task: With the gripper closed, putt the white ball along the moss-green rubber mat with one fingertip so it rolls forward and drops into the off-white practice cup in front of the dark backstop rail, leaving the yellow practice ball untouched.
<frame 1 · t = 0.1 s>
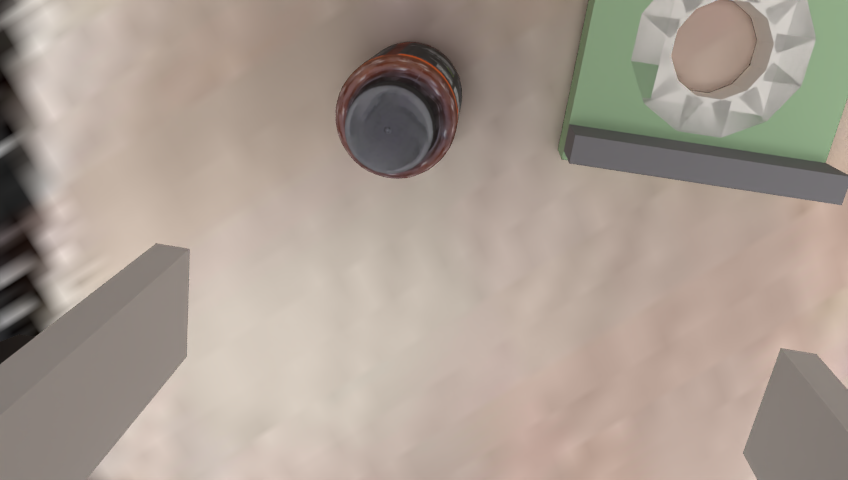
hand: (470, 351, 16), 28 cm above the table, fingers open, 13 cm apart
supplement bottle: (413, 92, 42), on the table
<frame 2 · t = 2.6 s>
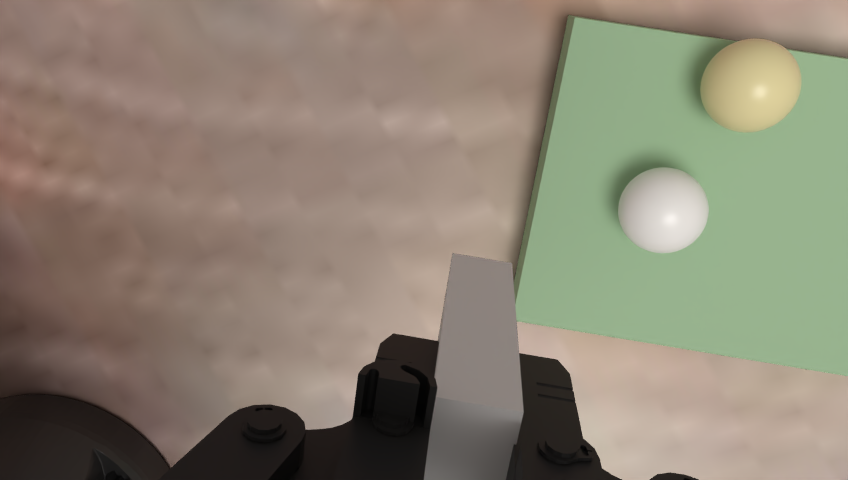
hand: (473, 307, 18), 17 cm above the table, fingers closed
yellow ball: (749, 86, 28), point 4 cm above the table, touching green
green: (809, 210, 34), on the table
ball: (662, 210, 30), point 4 cm above the table, touching green
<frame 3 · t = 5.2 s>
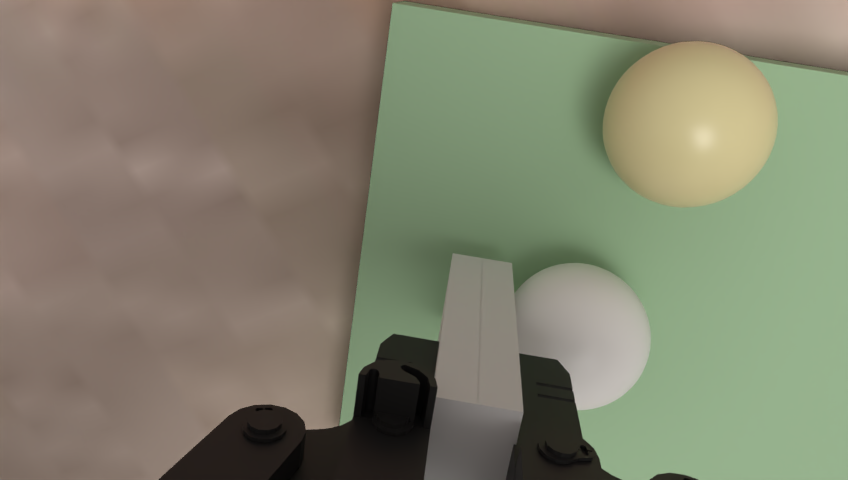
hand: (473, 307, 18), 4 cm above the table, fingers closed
yellow ball: (686, 125, 16), point 4 cm above the table, touching green
green: (796, 311, 21), on the table
ball: (574, 335, 18), point 4 cm above the table, tilted 20°, touching green
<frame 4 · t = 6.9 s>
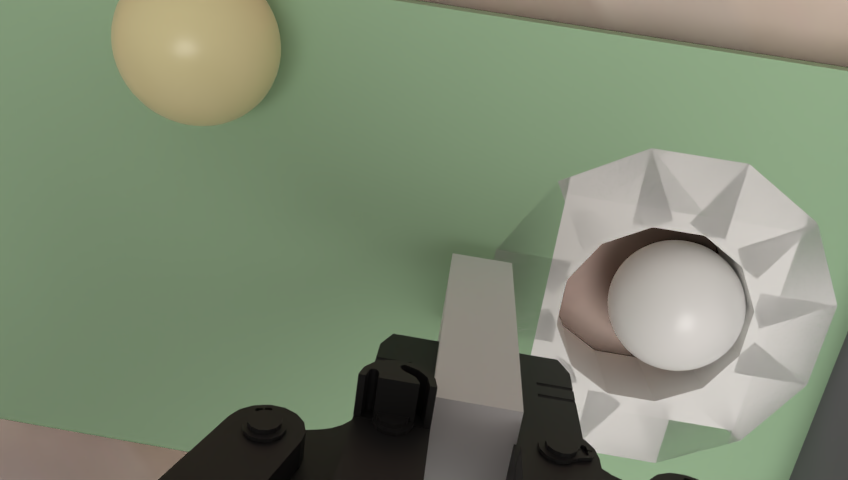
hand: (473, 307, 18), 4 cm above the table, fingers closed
yellow ball: (198, 44, 16), point 4 cm above the table, touching green
green: (439, 249, 22), on the table
ball: (674, 304, 20), point 2 cm above the table, tilted 141°
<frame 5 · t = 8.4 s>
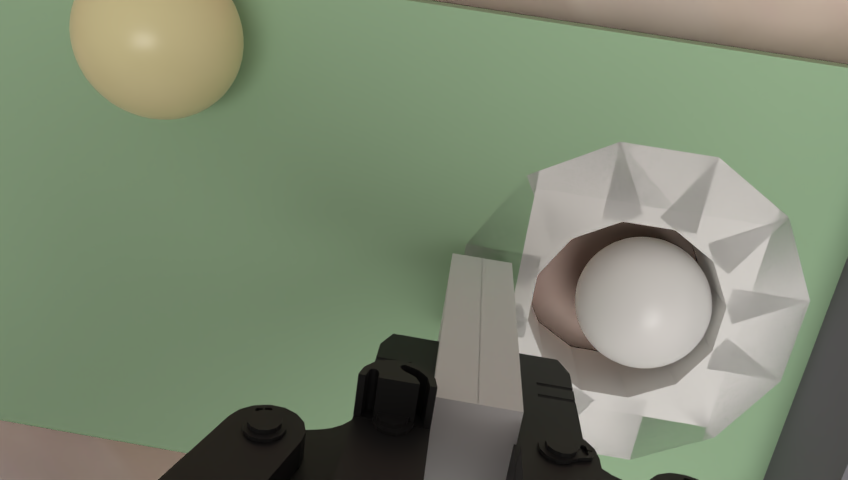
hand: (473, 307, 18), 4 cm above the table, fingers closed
yellow ball: (160, 37, 16), point 4 cm above the table, touching green
green: (413, 244, 21), on the table
ball: (641, 302, 20), point 2 cm above the table, tilted 137°
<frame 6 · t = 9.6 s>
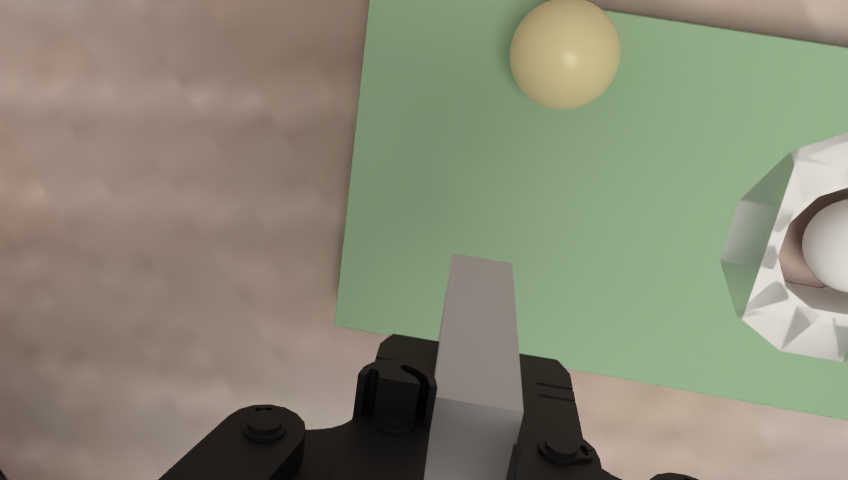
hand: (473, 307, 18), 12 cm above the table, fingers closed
yellow ball: (564, 54, 23), point 4 cm above the table, touching green
green: (675, 204, 29), on the table
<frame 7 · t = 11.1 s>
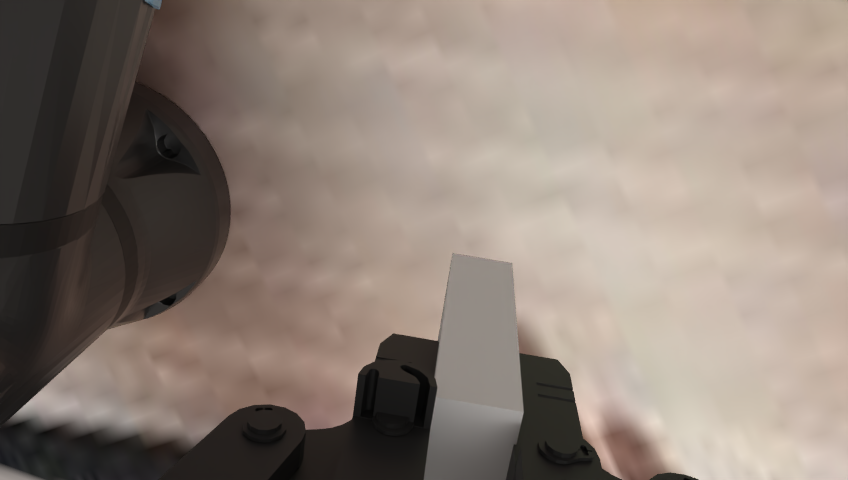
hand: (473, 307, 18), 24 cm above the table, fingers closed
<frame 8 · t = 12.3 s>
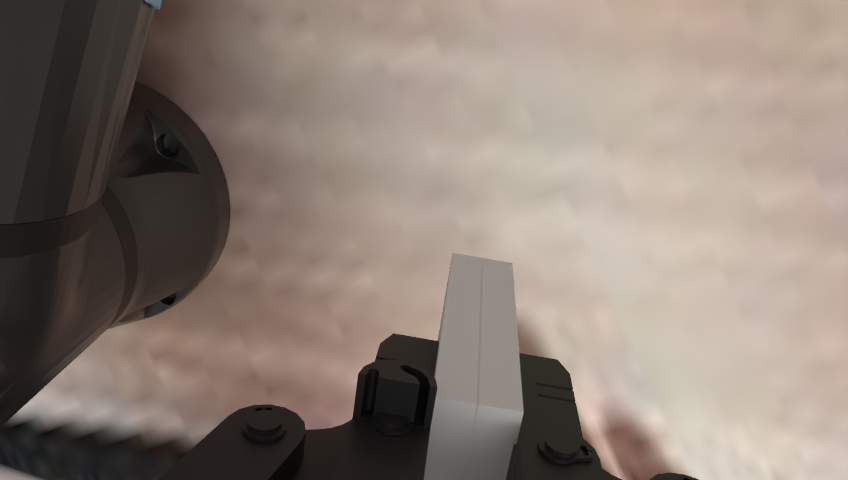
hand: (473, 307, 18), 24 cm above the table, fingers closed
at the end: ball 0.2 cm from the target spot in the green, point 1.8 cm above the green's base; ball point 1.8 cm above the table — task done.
